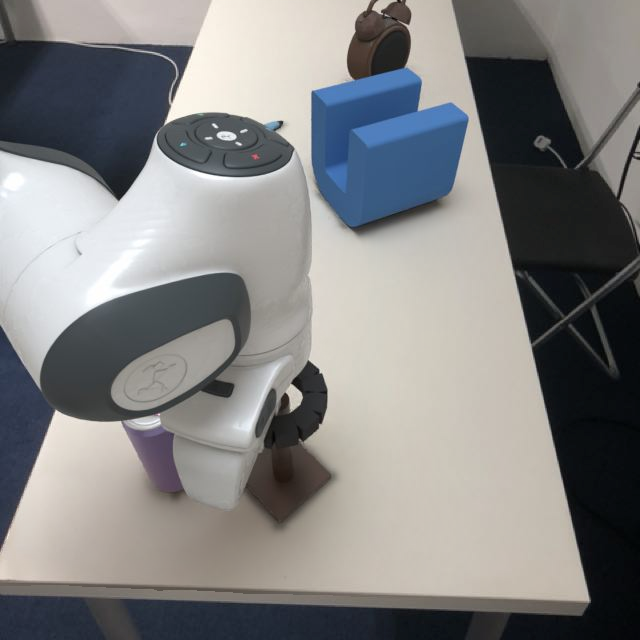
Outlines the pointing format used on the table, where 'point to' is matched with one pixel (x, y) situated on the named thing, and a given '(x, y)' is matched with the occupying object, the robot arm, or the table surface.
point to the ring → (301, 411)
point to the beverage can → (154, 451)
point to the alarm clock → (380, 41)
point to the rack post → (285, 475)
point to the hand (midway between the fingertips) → (262, 427)
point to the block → (383, 146)
